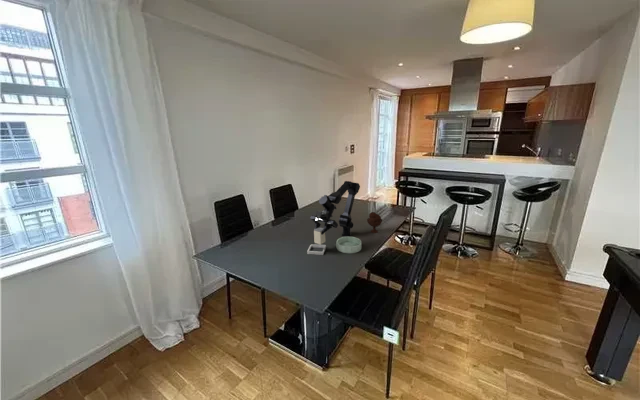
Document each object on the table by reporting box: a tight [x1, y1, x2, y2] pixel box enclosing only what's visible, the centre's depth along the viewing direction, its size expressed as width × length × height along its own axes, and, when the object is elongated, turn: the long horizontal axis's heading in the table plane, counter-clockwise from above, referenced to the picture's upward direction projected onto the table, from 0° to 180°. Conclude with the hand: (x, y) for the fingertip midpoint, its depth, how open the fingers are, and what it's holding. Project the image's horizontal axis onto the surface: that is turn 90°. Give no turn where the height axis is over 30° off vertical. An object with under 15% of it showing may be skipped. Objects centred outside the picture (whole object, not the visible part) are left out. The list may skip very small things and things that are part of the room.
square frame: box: [306, 243, 327, 256], centre depth 168 cm, size 10×10×2 cm
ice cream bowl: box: [366, 211, 383, 234], centre depth 194 cm, size 11×11×15 cm
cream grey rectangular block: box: [313, 226, 326, 245], centre depth 165 cm, size 5×5×9 cm
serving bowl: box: [335, 236, 362, 254], centre depth 171 cm, size 16×16×4 cm
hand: (318, 233), depth 164 cm, fingers closed on cream grey rectangular block, 5 cm apart
